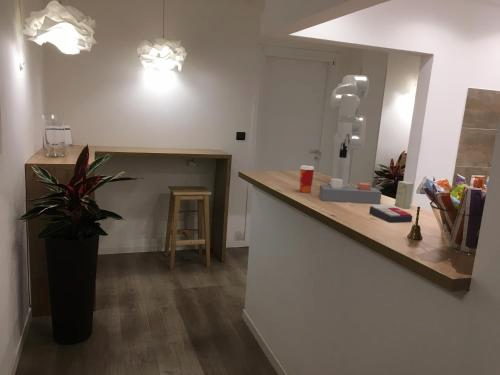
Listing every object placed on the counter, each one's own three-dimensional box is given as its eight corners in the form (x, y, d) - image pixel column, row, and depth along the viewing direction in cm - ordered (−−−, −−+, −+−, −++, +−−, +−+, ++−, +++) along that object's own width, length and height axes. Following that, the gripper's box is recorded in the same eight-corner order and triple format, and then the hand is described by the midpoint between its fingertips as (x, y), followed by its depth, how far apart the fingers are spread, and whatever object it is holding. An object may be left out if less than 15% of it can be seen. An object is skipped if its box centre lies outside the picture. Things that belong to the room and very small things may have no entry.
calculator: (390, 214, 168) (370, 204, 182) (389, 225, 169) (368, 213, 183) (413, 214, 172) (391, 204, 186) (411, 224, 173) (389, 213, 187)
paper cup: (301, 190, 229) (303, 164, 226) (314, 192, 225) (316, 166, 222) (295, 192, 222) (297, 166, 220) (308, 194, 218) (311, 167, 216)
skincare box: (394, 205, 203) (397, 181, 200) (401, 205, 204) (404, 180, 202) (403, 208, 197) (406, 183, 195) (410, 208, 199) (414, 183, 196)
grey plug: (329, 191, 211) (330, 178, 210) (339, 192, 211) (340, 178, 210) (331, 193, 206) (332, 179, 205) (341, 194, 206) (342, 180, 205)
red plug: (356, 196, 211) (358, 182, 210) (366, 196, 211) (368, 183, 210) (359, 198, 206) (360, 184, 205) (369, 198, 207) (370, 184, 205)
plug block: (319, 196, 215) (320, 184, 214) (372, 199, 215) (374, 187, 214) (323, 201, 203) (324, 189, 202) (380, 204, 203) (381, 192, 202)
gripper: (335, 119, 209) (331, 155, 212) (342, 119, 194) (338, 159, 198) (350, 120, 209) (346, 156, 213) (358, 120, 195) (354, 159, 198)
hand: (342, 157), depth 205 cm, fingers closed
